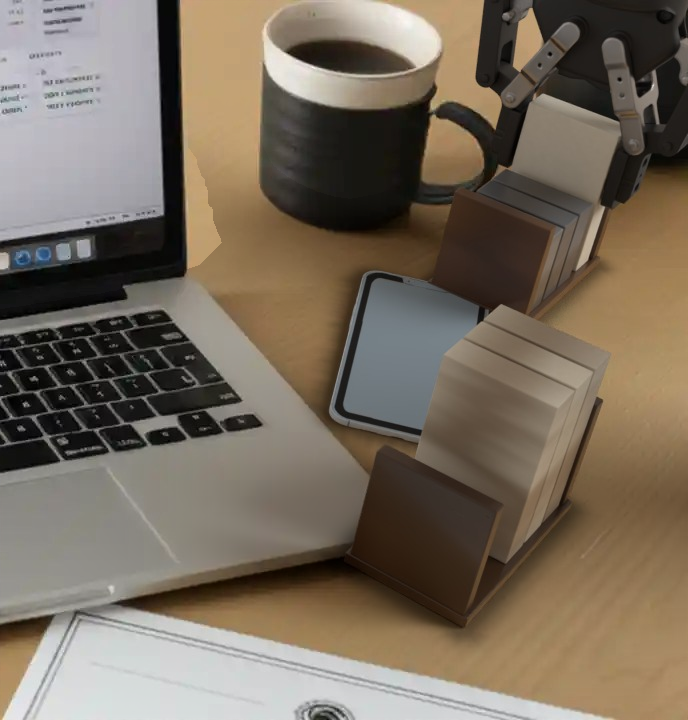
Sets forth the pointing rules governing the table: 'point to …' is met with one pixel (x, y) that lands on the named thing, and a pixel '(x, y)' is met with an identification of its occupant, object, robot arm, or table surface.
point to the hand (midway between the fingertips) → (559, 181)
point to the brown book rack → (482, 465)
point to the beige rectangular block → (569, 156)
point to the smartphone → (397, 353)
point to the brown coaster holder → (515, 244)
